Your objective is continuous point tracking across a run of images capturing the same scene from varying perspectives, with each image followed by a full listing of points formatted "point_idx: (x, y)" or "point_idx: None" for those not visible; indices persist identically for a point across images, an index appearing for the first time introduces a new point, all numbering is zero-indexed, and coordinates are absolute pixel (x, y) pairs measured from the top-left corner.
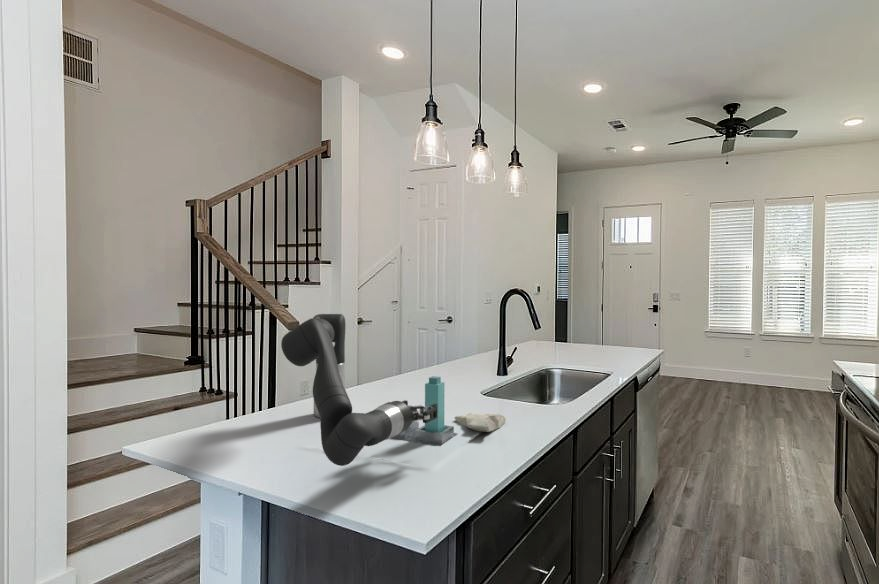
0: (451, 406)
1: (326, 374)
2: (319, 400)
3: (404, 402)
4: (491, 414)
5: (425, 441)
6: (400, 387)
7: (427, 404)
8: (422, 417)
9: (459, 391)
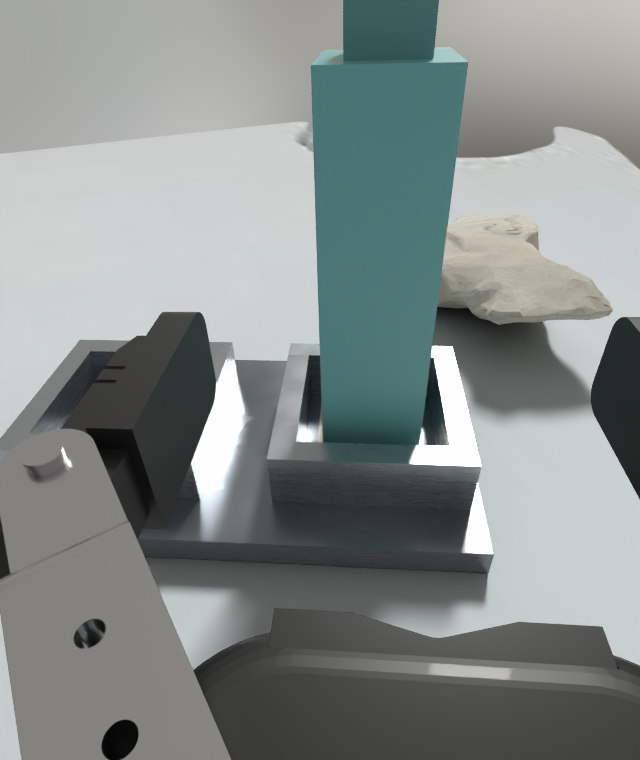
0: (261, 199)
1: None
2: None
3: (176, 362)
4: (517, 226)
5: (353, 511)
6: (65, 154)
7: (341, 267)
8: None
9: (241, 146)
